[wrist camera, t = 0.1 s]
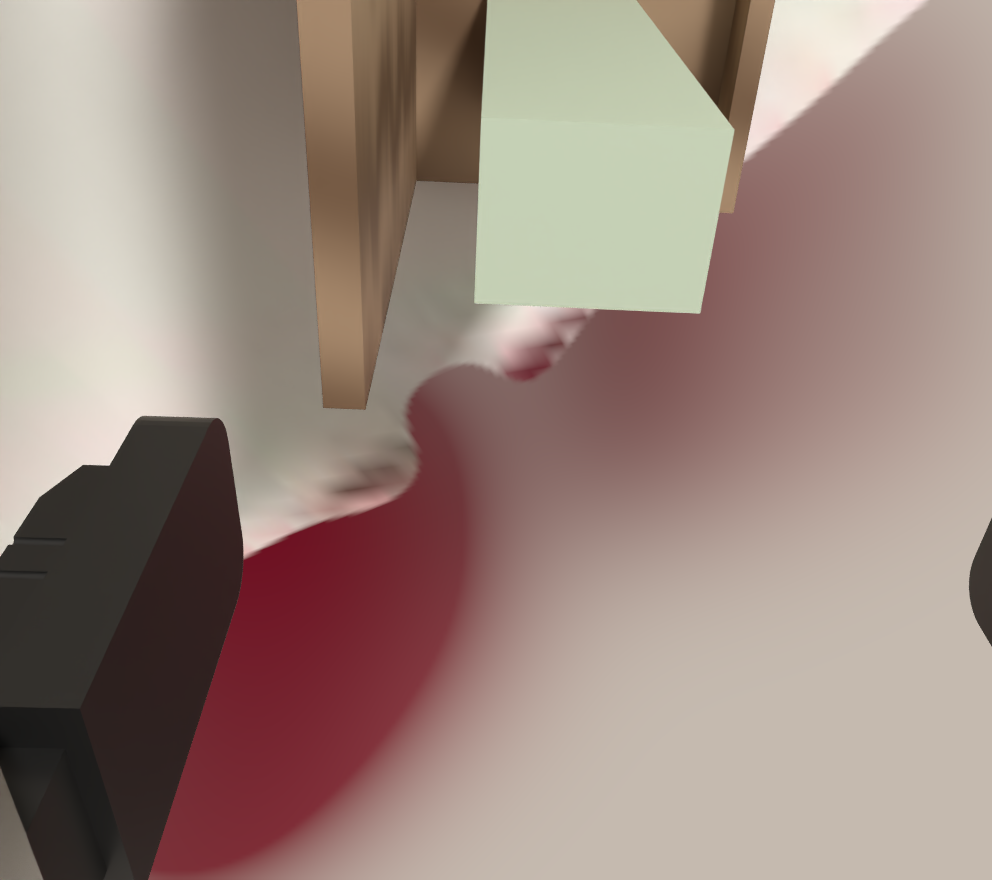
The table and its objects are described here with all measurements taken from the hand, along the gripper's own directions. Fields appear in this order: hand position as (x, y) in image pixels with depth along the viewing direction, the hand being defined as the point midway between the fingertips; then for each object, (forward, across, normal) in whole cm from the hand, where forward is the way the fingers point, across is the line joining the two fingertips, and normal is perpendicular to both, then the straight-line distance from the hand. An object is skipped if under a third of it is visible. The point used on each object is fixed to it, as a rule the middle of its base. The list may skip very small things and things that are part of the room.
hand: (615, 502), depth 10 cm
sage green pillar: (+28, -1, +1) cm, 28 cm away
